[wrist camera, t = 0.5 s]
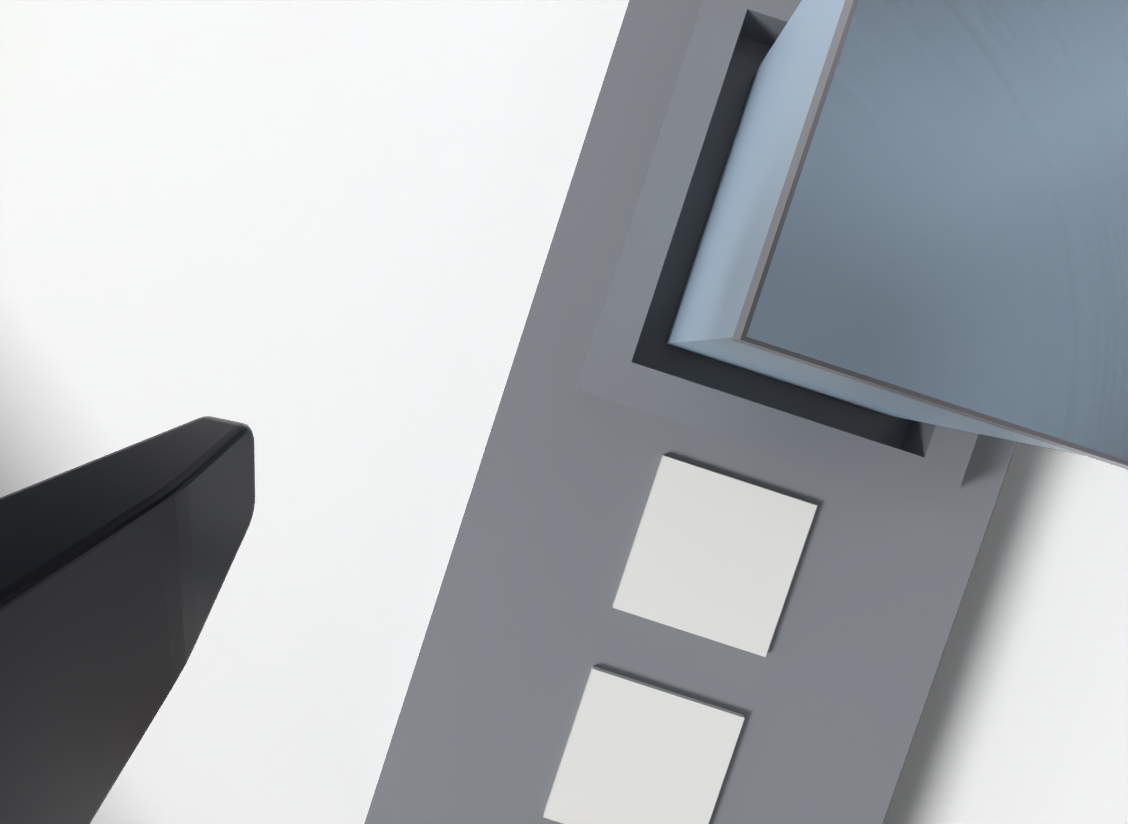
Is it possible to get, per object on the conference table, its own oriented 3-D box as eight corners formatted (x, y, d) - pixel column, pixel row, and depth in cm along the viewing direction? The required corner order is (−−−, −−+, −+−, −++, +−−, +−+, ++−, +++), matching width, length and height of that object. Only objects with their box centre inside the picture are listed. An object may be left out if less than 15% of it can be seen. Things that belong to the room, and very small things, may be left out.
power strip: (789, 951, 24) (830, 1069, 20) (372, 817, 24) (332, 909, 20) (1084, 106, 23) (1189, 56, 19) (647, -37, 23) (663, -118, 19)
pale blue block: (975, 144, 21) (1348, -47, 11) (882, 417, 21) (1158, 476, 11) (752, 71, 21) (917, -189, 11) (661, 344, 21) (739, 339, 11)
